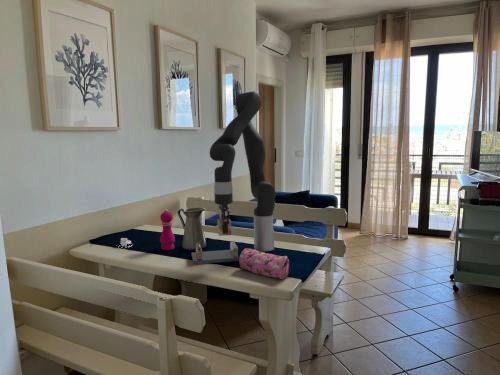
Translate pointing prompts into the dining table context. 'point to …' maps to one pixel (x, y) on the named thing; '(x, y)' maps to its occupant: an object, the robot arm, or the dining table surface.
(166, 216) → the pepper mill
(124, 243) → the white looped part
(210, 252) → the vise base
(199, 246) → the sliding jaw
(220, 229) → the oak block
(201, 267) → the dining table surface
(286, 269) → the pencil case
